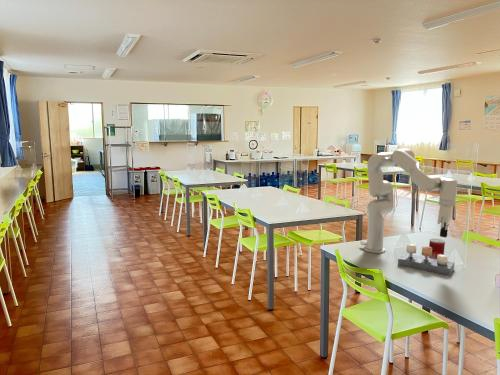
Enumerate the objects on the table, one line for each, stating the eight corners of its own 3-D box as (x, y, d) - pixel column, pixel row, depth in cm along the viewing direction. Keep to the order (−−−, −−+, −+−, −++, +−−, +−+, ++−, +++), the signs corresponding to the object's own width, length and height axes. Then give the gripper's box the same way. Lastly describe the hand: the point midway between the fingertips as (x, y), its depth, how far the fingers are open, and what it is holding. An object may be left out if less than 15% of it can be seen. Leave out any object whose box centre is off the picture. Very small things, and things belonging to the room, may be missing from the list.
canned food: (444, 261, 234) (446, 242, 233) (429, 260, 236) (431, 241, 234) (441, 257, 242) (443, 239, 240) (427, 256, 243) (428, 238, 242)
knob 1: (404, 258, 227) (405, 245, 226) (407, 256, 231) (408, 243, 230) (414, 260, 224) (415, 246, 223) (416, 257, 228) (417, 244, 227)
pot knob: (419, 261, 223) (421, 247, 222) (422, 258, 227) (423, 245, 225) (429, 263, 220) (430, 249, 219) (432, 260, 224) (433, 246, 223)
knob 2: (435, 269, 219) (436, 256, 217) (437, 267, 223) (438, 253, 221) (445, 271, 216) (446, 258, 214) (447, 269, 220) (448, 255, 218)
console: (397, 265, 227) (398, 258, 226) (404, 259, 236) (404, 253, 236) (449, 276, 211) (449, 268, 211) (453, 269, 221) (454, 262, 220)
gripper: (442, 199, 222) (438, 232, 225) (435, 203, 210) (432, 238, 213) (457, 201, 217) (453, 234, 220) (452, 206, 205) (448, 241, 209)
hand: (443, 236), depth 217 cm, fingers closed
